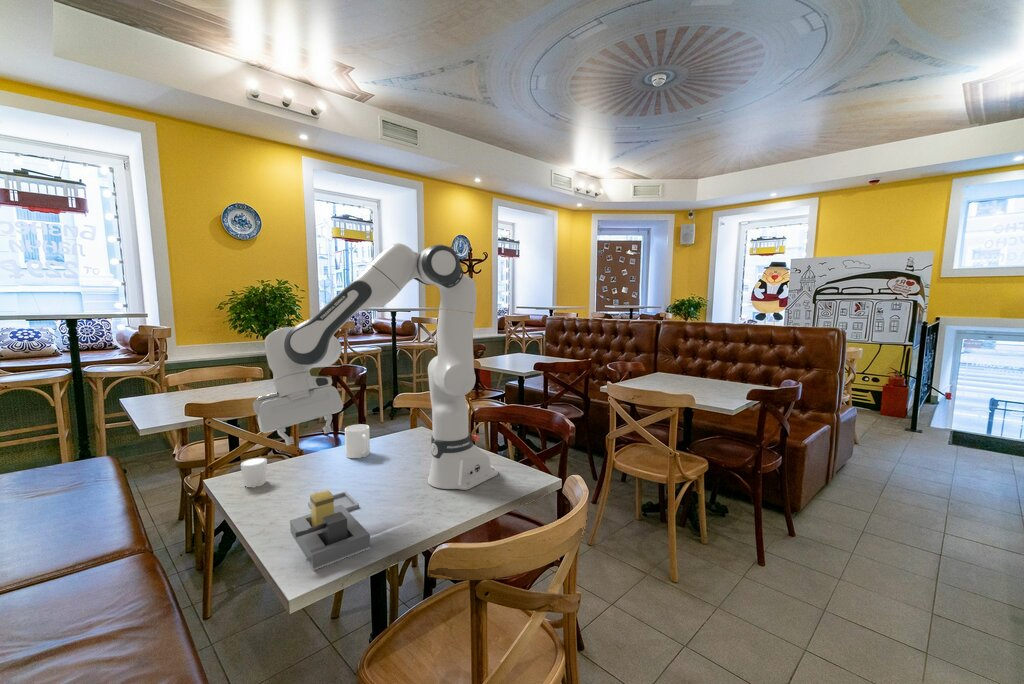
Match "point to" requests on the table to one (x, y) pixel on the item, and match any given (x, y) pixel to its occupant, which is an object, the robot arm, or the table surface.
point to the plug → (321, 506)
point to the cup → (357, 441)
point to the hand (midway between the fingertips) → (309, 438)
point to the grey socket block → (330, 537)
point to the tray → (343, 501)
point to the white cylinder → (254, 472)
